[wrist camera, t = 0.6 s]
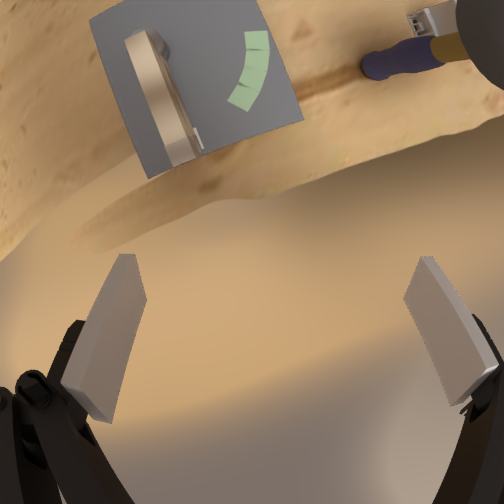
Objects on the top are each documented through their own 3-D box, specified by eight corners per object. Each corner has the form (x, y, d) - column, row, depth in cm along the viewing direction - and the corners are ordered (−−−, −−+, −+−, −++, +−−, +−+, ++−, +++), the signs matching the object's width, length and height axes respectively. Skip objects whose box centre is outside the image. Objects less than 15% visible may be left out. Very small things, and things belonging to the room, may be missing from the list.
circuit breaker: (479, 56, 29) (544, 53, 16) (424, 61, 30) (498, 50, 17) (464, 17, 26) (526, 4, 13) (406, 15, 27) (473, -11, 14)
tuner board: (95, 25, 25) (88, 20, 23) (235, -30, 24) (236, -39, 22) (152, 175, 34) (148, 179, 32) (299, 120, 33) (304, 119, 31)
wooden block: (134, 49, 26) (110, 29, 18) (164, 35, 25) (147, 11, 18) (178, 160, 32) (165, 170, 24) (208, 148, 31) (203, 154, 24)
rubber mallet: (342, 106, 33) (568, 111, 6) (318, 54, 30) (511, -42, 3) (414, 83, 32) (608, 90, 4) (394, 35, 29) (577, -7, 1)
